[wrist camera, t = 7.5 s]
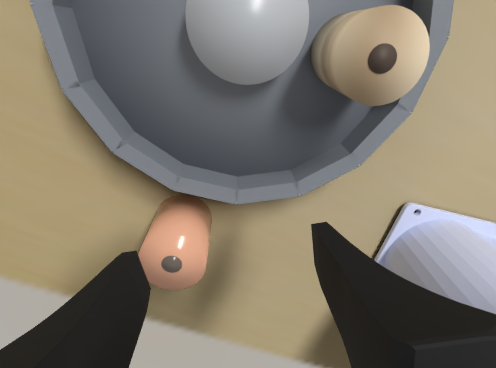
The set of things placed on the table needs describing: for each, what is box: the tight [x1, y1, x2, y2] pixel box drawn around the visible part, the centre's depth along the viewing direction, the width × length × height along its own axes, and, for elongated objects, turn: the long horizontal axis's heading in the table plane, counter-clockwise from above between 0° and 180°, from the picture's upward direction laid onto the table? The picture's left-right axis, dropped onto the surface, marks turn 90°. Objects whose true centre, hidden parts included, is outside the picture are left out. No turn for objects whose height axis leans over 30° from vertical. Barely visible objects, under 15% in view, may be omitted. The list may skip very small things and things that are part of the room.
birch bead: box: [311, 5, 430, 106], centre depth 16 cm, size 4×4×5 cm
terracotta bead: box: [138, 195, 212, 290], centre depth 21 cm, size 4×4×5 cm
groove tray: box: [30, 0, 454, 205], centre depth 17 cm, size 20×20×3 cm
